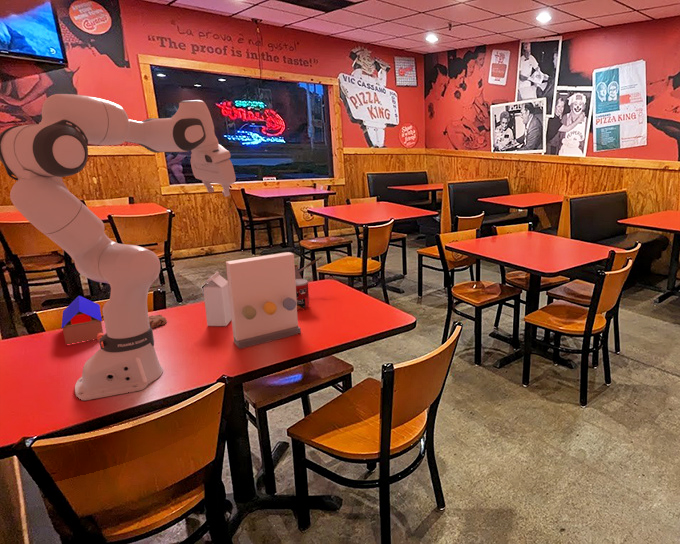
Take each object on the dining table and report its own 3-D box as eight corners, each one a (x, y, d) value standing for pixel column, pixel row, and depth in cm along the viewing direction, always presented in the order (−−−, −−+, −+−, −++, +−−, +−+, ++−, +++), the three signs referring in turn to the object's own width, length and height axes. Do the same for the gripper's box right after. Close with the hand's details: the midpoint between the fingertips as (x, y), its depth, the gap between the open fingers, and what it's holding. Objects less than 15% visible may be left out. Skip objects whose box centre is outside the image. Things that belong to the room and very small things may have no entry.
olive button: (244, 320, 139) (243, 308, 138) (242, 318, 142) (241, 306, 141) (256, 318, 141) (255, 306, 140) (254, 315, 144) (253, 304, 142)
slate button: (285, 311, 146) (284, 300, 145) (282, 309, 148) (281, 298, 147) (296, 309, 148) (295, 298, 147) (293, 307, 150) (292, 295, 149)
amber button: (265, 316, 143) (264, 304, 142) (262, 313, 145) (261, 302, 144) (277, 313, 145) (276, 302, 144) (274, 311, 147) (273, 299, 146)
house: (65, 347, 148) (58, 314, 145) (66, 327, 165) (60, 298, 162) (105, 338, 154) (99, 307, 151) (102, 320, 171) (97, 292, 168)
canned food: (286, 310, 176) (285, 283, 173) (294, 303, 184) (293, 278, 181) (304, 311, 174) (303, 285, 171) (311, 304, 181) (310, 279, 178)
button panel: (239, 348, 143) (231, 265, 135) (233, 342, 148) (225, 261, 140) (300, 333, 154) (296, 255, 146) (293, 327, 158) (289, 252, 151)
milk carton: (232, 319, 168) (227, 271, 163) (226, 326, 161) (220, 277, 156) (214, 319, 169) (209, 271, 164) (207, 326, 162) (201, 276, 157)
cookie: (131, 330, 161) (130, 322, 160) (147, 319, 171) (146, 312, 170) (157, 331, 160) (156, 323, 159) (171, 320, 170) (170, 313, 169)
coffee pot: (287, 300, 188) (285, 266, 184) (276, 293, 197) (274, 260, 193) (330, 290, 198) (329, 258, 194) (317, 284, 208) (316, 253, 204)
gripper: (181, 153, 145) (194, 192, 152) (215, 158, 132) (228, 201, 139) (198, 147, 148) (209, 186, 155) (233, 152, 135) (244, 194, 142)
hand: (218, 193), depth 147 cm, fingers open, 8 cm apart
